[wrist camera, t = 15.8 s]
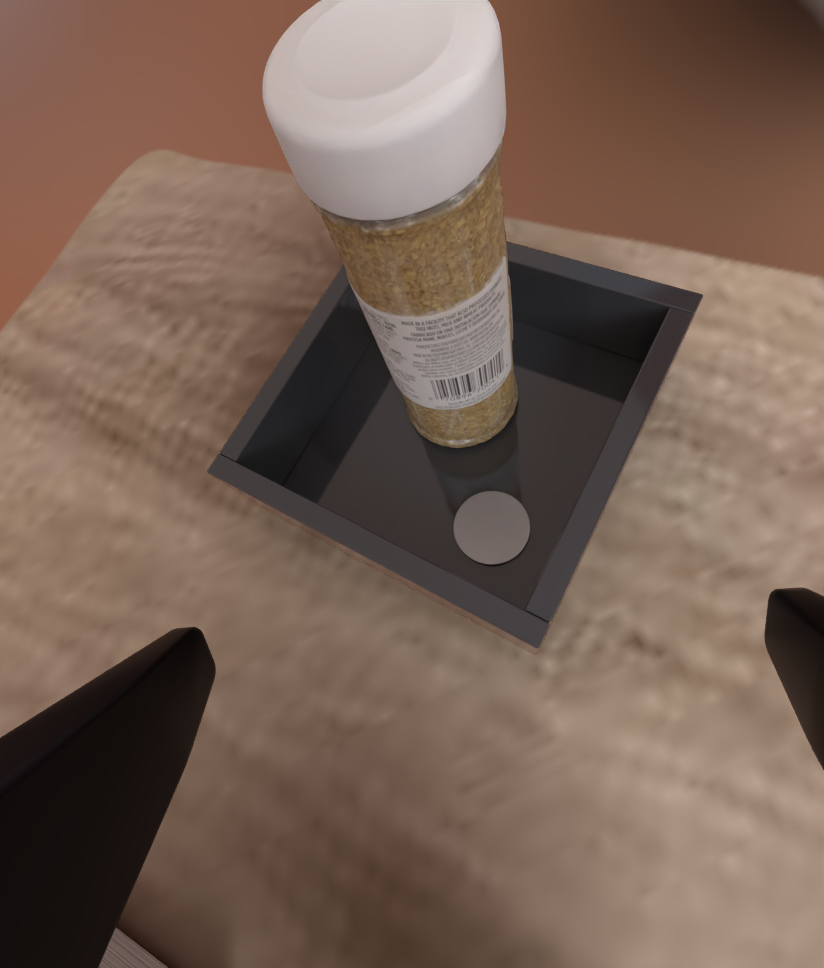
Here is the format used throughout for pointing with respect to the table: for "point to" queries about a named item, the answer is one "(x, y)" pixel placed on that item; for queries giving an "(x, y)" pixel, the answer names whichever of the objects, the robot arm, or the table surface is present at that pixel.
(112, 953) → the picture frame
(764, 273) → the table surface
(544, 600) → the sink
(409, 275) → the spice jar
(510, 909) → the table surface
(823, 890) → the table surface
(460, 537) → the disc
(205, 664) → the robot arm
